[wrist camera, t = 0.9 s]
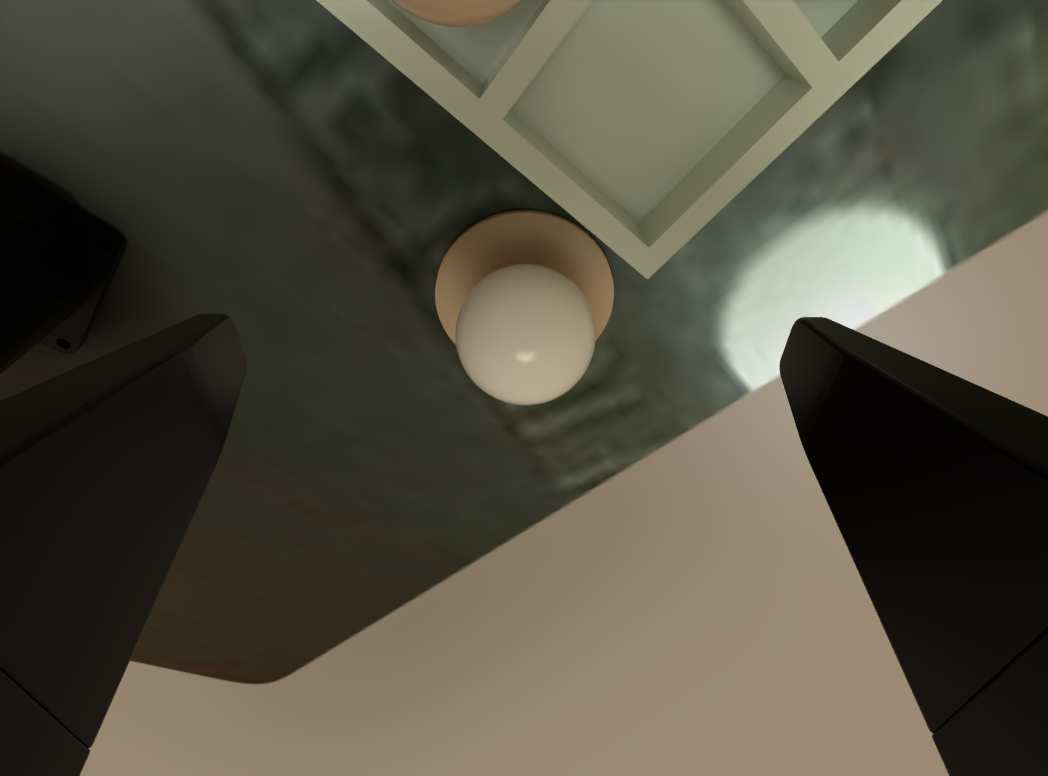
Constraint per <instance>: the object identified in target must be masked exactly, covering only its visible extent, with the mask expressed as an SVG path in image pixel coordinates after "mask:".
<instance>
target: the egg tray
mask: <svg viewBox="0 0 1048 776" xmlns="http://www.w3.org/2000/svg"><path fill="white" fill-rule="evenodd" d="M316 1H318V2H319V3H320V4H321V5H322V6H324V7H325V8H326V9H327V10H328V11H330V12H331V13H332V14H333V15H334V16H335V17H337V18H338V19H339V20H340V21H341V22H343V23H344V24H345V25H346V26H347V27H349V28H350V29H351V30H352V31H353V32H354V33H356V34H357V35H358V36H359V37H360V38H362V39H363V40H364V41H365V42H366V43H367V44H369V45H370V46H371V47H372V48H373V49H375V50H376V51H377V52H378V53H379V54H381V55H382V56H383V57H384V58H385V59H386V60H388V61H389V62H390V63H391V64H392V65H394V66H395V67H396V68H397V69H398V70H400V71H401V72H402V73H403V74H404V75H405V76H407V77H408V78H409V79H410V80H411V81H413V82H414V83H415V84H416V85H417V86H419V87H420V88H421V89H422V90H423V91H424V92H426V93H427V94H428V95H429V96H430V97H432V98H433V99H434V100H435V101H436V102H437V103H439V104H440V105H441V106H442V107H443V108H445V109H446V110H447V111H448V112H449V113H451V114H452V115H453V116H454V117H455V118H456V119H458V120H459V121H460V122H461V123H462V124H464V125H465V126H466V127H467V128H468V129H470V130H471V131H472V132H473V133H474V134H475V135H477V136H478V137H479V138H480V139H481V140H483V141H484V142H485V143H486V144H487V145H488V146H490V147H491V148H492V149H493V150H494V151H496V152H497V153H498V154H499V155H500V156H502V157H503V158H504V159H505V160H506V161H507V162H509V163H510V164H511V165H512V166H513V167H515V168H516V169H517V170H518V171H519V172H521V173H522V174H523V175H524V176H525V177H526V178H528V179H529V180H530V181H531V182H532V183H534V184H535V185H536V186H537V187H538V188H539V189H541V190H542V191H543V192H544V193H545V194H547V195H548V196H549V197H550V198H551V199H553V200H554V201H555V202H556V203H557V204H558V205H560V206H561V207H562V208H563V209H564V210H566V211H567V212H568V213H569V214H570V215H572V216H573V217H574V218H575V219H576V220H577V221H579V222H580V223H581V224H582V225H583V226H585V227H586V228H587V229H588V230H589V231H591V232H592V233H593V234H594V235H595V236H596V237H598V238H599V239H600V240H601V241H602V242H604V243H605V244H606V245H607V246H608V247H609V248H611V249H612V250H613V251H614V252H615V253H617V254H618V255H619V256H620V257H621V258H623V259H624V260H625V261H626V262H627V263H628V264H630V265H631V266H632V267H633V268H634V269H636V270H637V271H638V272H639V273H640V274H642V275H643V276H644V277H645V278H646V279H647V280H648V279H649V278H650V277H651V276H652V275H653V274H654V273H655V272H656V271H657V270H658V269H659V268H660V267H661V266H663V265H664V264H665V263H666V262H667V261H668V260H669V259H670V258H671V257H672V256H673V255H674V254H675V253H676V252H677V251H678V250H679V249H681V248H682V247H683V246H684V245H685V244H686V243H687V242H688V241H689V240H690V239H691V238H692V237H693V236H694V235H695V234H696V233H697V232H698V231H700V230H701V229H702V228H703V227H704V226H705V225H706V224H707V223H708V222H709V221H710V220H711V219H712V218H713V217H714V216H715V215H716V214H717V213H719V212H720V211H721V210H722V209H723V208H724V207H725V206H726V205H727V204H728V203H729V202H730V201H731V200H732V199H733V198H734V197H735V196H736V195H738V194H739V193H740V192H741V191H742V190H743V189H744V188H745V187H746V186H747V185H748V184H749V183H750V182H751V181H752V180H753V179H754V178H755V177H757V176H758V175H759V174H760V173H761V172H762V171H763V170H764V169H765V168H766V167H767V166H768V165H769V164H770V163H771V162H772V161H773V160H774V159H776V158H777V157H778V156H779V155H780V154H781V153H782V152H783V151H784V150H785V149H786V148H787V147H788V146H789V145H790V144H791V143H792V142H794V141H795V140H796V139H797V138H798V137H799V136H800V135H801V134H802V133H803V132H804V131H805V130H806V129H807V128H808V127H809V126H810V125H811V124H813V123H814V122H815V121H816V120H817V119H818V118H819V117H820V116H821V115H822V114H823V113H824V112H825V111H826V110H827V109H828V108H829V107H830V106H832V105H833V104H834V103H835V102H836V101H837V100H838V99H839V98H840V97H841V96H842V95H843V94H844V93H845V92H846V91H847V90H848V89H849V88H851V87H852V86H853V85H854V84H855V83H856V82H857V81H858V80H859V79H860V78H861V77H862V76H863V75H864V74H865V73H866V72H867V71H868V70H870V69H871V68H872V67H873V66H874V65H875V64H876V63H877V62H878V61H879V60H880V59H881V58H882V57H883V56H884V55H885V54H886V53H887V52H889V51H890V50H891V49H892V48H893V47H894V46H895V45H896V44H897V43H898V42H899V41H900V40H901V39H902V38H903V37H904V36H905V35H907V34H908V33H909V32H910V31H911V30H912V29H913V28H914V27H915V26H916V25H917V24H918V23H919V22H920V21H921V20H922V19H923V18H924V17H926V16H927V15H928V14H929V13H930V12H931V11H932V10H933V9H934V8H935V7H936V6H937V5H938V4H939V3H940V2H941V1H942V0H522V1H521V2H520V3H519V4H518V5H517V6H515V7H514V8H513V9H511V10H510V11H509V12H507V13H506V14H504V15H502V16H500V17H498V18H497V19H495V20H492V21H489V22H487V23H484V24H481V25H476V26H471V27H447V26H440V25H436V24H433V23H429V22H426V21H424V20H422V19H419V18H417V17H415V16H413V15H412V14H410V13H408V12H407V11H405V10H403V9H402V8H400V7H399V6H398V5H397V4H395V3H394V2H393V1H392V0H316Z"/></svg>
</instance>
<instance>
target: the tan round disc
mask: <svg viewBox="0 0 1048 776" xmlns="http://www.w3.org/2000/svg"><path fill="white" fill-rule="evenodd" d="M517 264H535V265H541V266H545V267H548V268H551V269H554V270H556V271H558V272H560V273H561V274H563V275H564V276H566V277H567V278H569V279H570V280H571V281H572V282H573V283H574V284H576V285H577V287H578V288H579V289H580V290H581V291H582V293H583V294H584V296H585V297H586V299H587V301H588V302H589V305H590V307H591V310H592V312H593V316H594V320H595V327H596V340H597V339H598V337H599V336H600V335H601V333H602V332H603V330H604V328H605V327H606V325H607V323H608V320H609V318H610V315H611V312H612V307H613V302H614V283H613V278H612V274H611V270H610V267H609V264H608V261H607V259H606V257H605V255H604V253H603V251H602V250H601V248H600V246H599V245H598V244H597V243H596V241H595V240H594V239H593V238H592V237H591V236H590V235H589V234H588V233H587V232H586V231H585V230H584V229H582V228H581V227H579V226H578V225H577V224H575V223H573V222H571V221H570V220H568V219H566V218H564V217H561V216H558V215H556V214H553V213H548V212H544V211H538V210H512V211H506V212H501V213H498V214H495V215H491V216H489V217H487V218H485V219H482V220H480V221H478V222H477V223H475V224H474V225H472V226H470V227H469V228H468V229H466V230H465V231H464V232H463V233H462V234H460V235H459V237H458V238H457V239H456V240H455V241H454V242H453V243H452V245H451V246H450V248H449V249H448V250H447V252H446V254H445V256H444V258H443V260H442V262H441V265H440V268H439V271H438V275H437V280H436V286H435V301H436V308H437V312H438V315H439V319H440V321H441V323H442V325H443V328H444V329H445V331H446V333H447V334H448V336H449V337H450V338H451V340H452V341H453V342H454V343H455V344H456V339H455V336H456V322H457V317H458V314H459V311H460V308H461V305H462V304H463V302H464V300H465V298H466V296H467V295H468V294H469V292H470V291H471V289H472V288H473V287H474V286H475V285H476V284H477V283H478V282H479V281H480V280H482V279H483V278H484V277H486V276H487V275H489V274H490V273H492V272H494V271H496V270H498V269H501V268H503V267H507V266H510V265H517Z"/></svg>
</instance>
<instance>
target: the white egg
mask: <svg viewBox="0 0 1048 776" xmlns="http://www.w3.org/2000/svg"><path fill="white" fill-rule="evenodd" d="M455 339H456V347H457V351H458V355H459V358H460V361H461V363H462V365H463V367H464V369H465V371H466V372H467V374H468V376H469V377H470V378H471V379H472V380H473V382H474V383H475V384H476V385H477V386H478V387H479V388H480V389H482V390H483V391H484V392H486V393H487V394H489V395H491V396H492V397H494V398H496V399H498V400H501V401H503V402H507V403H511V404H516V405H534V404H541V403H545V402H548V401H551V400H553V399H555V398H557V397H559V396H561V395H563V394H564V393H566V392H567V391H568V390H570V389H571V388H572V387H573V386H574V385H575V384H576V383H577V382H578V381H579V380H580V379H581V377H582V376H583V375H584V373H585V372H586V370H587V368H588V366H589V364H590V362H591V359H592V356H593V353H594V349H595V343H596V327H595V320H594V316H593V312H592V310H591V307H590V305H589V302H588V301H587V299H586V297H585V296H584V294H583V293H582V291H581V290H580V289H579V288H578V287H577V285H576V284H574V283H573V282H572V281H571V280H570V279H569V278H567V277H566V276H564V275H563V274H561V273H560V272H558V271H556V270H554V269H551V268H548V267H545V266H541V265H535V264H517V265H510V266H507V267H503V268H501V269H498V270H496V271H494V272H492V273H490V274H489V275H487V276H486V277H484V278H483V279H482V280H480V281H479V282H478V283H477V284H476V285H475V286H474V287H473V288H472V289H471V291H470V292H469V294H468V295H467V296H466V298H465V300H464V302H463V304H462V305H461V308H460V311H459V314H458V317H457V322H456V336H455Z"/></svg>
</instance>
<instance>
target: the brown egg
mask: <svg viewBox="0 0 1048 776" xmlns="http://www.w3.org/2000/svg"><path fill="white" fill-rule="evenodd" d="M392 1H393V2H394V3H395V4H397V5H398V6H399V7H400V8H402V9H403V10H405V11H407V12H408V13H410V14H412V15H413V16H415V17H417V18H419V19H422V20H424V21H426V22H429V23H433V24H436V25H440V26H447V27H471V26H476V25H481V24H484V23H487V22H489V21H492V20H495V19H497V18H498V17H500V16H502V15H504V14H506V13H507V12H509V11H510V10H511V9H513V8H514V7H515V6H517V5H518V4H519V3H520V2H521V1H522V0H392Z"/></svg>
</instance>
